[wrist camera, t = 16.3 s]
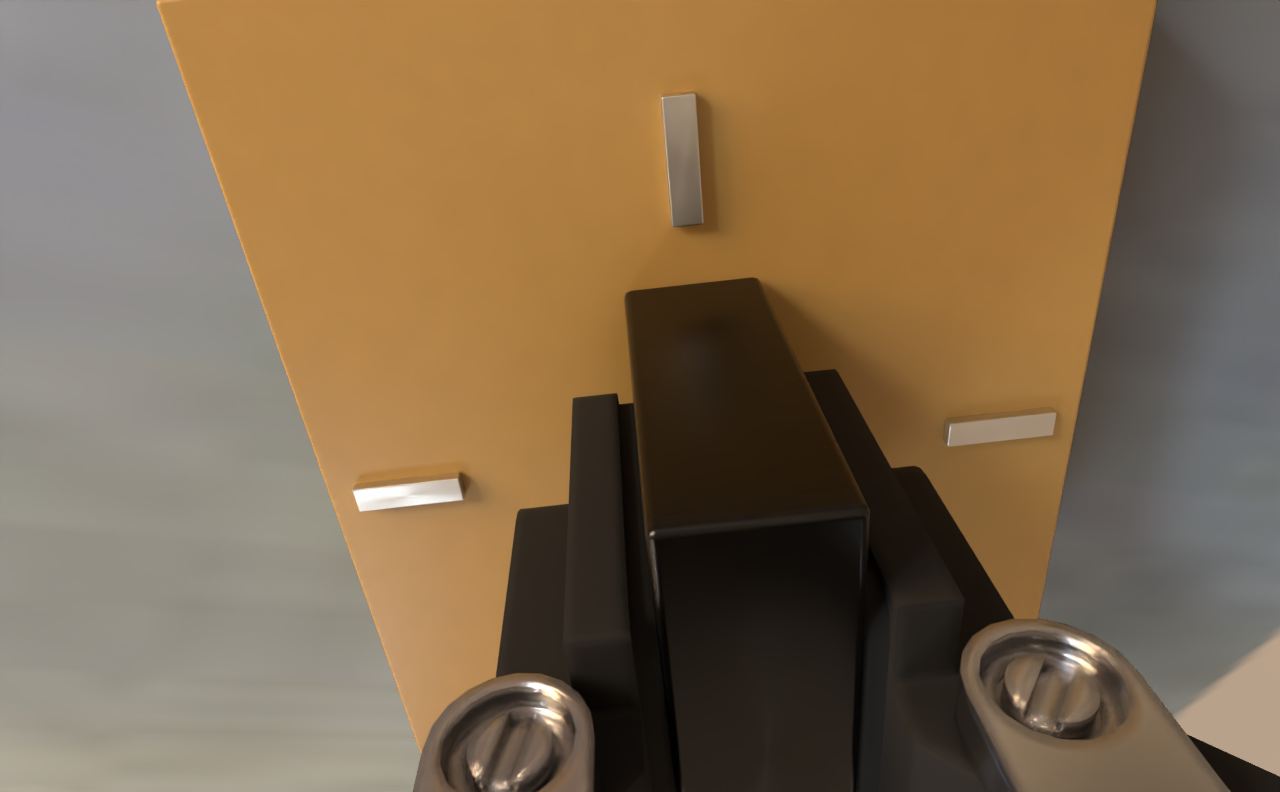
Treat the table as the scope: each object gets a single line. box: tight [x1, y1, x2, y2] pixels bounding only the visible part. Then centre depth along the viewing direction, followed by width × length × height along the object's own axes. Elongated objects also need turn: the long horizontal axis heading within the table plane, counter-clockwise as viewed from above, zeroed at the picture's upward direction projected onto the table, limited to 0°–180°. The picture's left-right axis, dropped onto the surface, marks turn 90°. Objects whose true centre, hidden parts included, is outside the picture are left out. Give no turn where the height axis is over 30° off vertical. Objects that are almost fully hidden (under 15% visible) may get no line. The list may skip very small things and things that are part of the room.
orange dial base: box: [157, 0, 1158, 754], centre depth 12 cm, size 12×10×3 cm
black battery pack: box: [624, 277, 870, 792], centre depth 9 cm, size 5×2×5 cm, turn 5°
